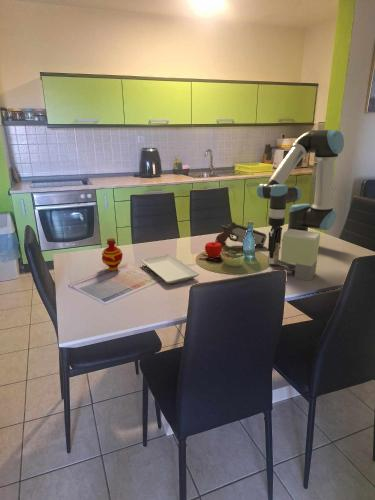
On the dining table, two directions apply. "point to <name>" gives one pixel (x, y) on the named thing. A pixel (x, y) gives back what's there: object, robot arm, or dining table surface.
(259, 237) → the gun
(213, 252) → the apple
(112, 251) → the red yellow vase
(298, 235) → the pale green stepped block
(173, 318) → the dining table surface
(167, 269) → the tray
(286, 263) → the blade tool
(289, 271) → the token
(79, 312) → the dining table surface
